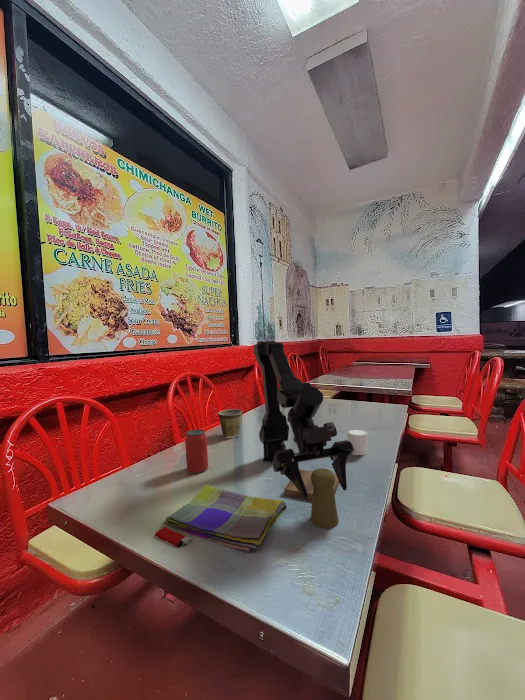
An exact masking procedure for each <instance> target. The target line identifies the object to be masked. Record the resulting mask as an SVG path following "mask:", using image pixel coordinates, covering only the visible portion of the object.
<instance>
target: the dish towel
mask: <svg viewBox="0 0 525 700" xmlns="http://www.w3.org/2000/svg"><path fill="white" fill-rule="evenodd" d="M287 506H288V505H287V503H286V502H284V500H281V499H272V498H263V497H262V498H261V497H256V496H250V495H247V494H245V495H244V494H241V493H237V492H234V491H230V490H229V491H228V490H224V489H221V488H217V487H215V486H212V485H209V484H205V485H204V486H203V487H202V489H201V490H200V491H199V492H198V493H197V494H196V495H195V497H193V498H192V499H191V500H190V501H189V502H187V504H185V505H183V506H182V507H180V508H179V509H178V510H176V511H174V512H173V513H171V515H169V516H167V517H165V518H164V521H163V522H162V524H163V523H165V525H167V524H168V525H167V526H169V525H170V527H171V526H172V527H171V528H173V527H174V528H173V529H176V530H178V531H181V532H185V533H188V534H190V535H192V536H195V537H197V538H200V539H202V540H203V539H204V540H206V541H208V542H211V543H214V544H218V545H221V546H225V547H227V548H230V549H233V550H238V551H244V552H247V553H250V552H251V551H252V550H255V549H257V547H259V546H260V545H261V544H262V543H263V542H262V541H263V540H264V538H265V536H266V534H267V533H268V532H269V531H270V529H271V528H272V527H273V525H274V524H275V523H276V522H277V520H278V519H279V518H280V517H281V516H282V515H283V514H284V512H285V511H286V510H287Z"/></svg>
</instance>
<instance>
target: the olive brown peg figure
mask: <svg viewBox="0 0 525 700" xmlns="http://www.w3.org/2000/svg"><path fill="white" fill-rule="evenodd" d="M312 471H313V472H312V474H311V482H312V485H313V486H314V488H313V499H312V500H311V512H310V522H311V523H312V525H314V526H315V527H317V528H319V529H328V530H329V529H333V528H335V527H337V526H338V524H339V515H338V508H337V503H336V497H335V495H334V491H333V486H334V484H335V476H334V475H335V474H334V472H333V471H332V470H330V469H328V468H324V467H323V468H320V467H319V468H316V469H314V470H312Z"/></svg>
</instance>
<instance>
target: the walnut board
mask: <svg viewBox="0 0 525 700" xmlns="http://www.w3.org/2000/svg"><path fill="white" fill-rule="evenodd" d="M299 471H300V474H301V477H302V480H303V482H304V485H305V488H306V491H307V495H308V497H307V498H304V497H303V495H302V494H301V493H300V491H299V490H298V489H297V488H296V486H295V485H294V484H293V483H292V482H291V481H290V480H289V481H288V483H287V484H286V486H285V487H284V488H283V491H284V495H286V496H291V497H295V498H296V497H297V498H302V499H306V500H311V501H312V499H313V488H314V486H313V485H312V482H311V474H312V472H313V471H314V470H308V469H307V470H306V469H300V468H299ZM334 476H335V484H334V486H333V491H334V496H336V492H337V490H338V487H339V485H340V483H339V480H338V478H337V476H336V474H334Z"/></svg>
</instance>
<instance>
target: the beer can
mask: <svg viewBox="0 0 525 700" xmlns="http://www.w3.org/2000/svg"><path fill="white" fill-rule="evenodd" d="M185 435H186V436H185V439H184V440H185V442H184V443H185V444H184V445H185V456H186V457H185V460H186V461H185V462H186V470H187V472H189V473H190V472H191V473H190V474H199V473H200V472H201V473H203V472H205V471H206V470H207V469H208V468H209V454H208V438H207V435H206V433H205V430H204V429H202V428H201V429H200V428H199V429H191V430H188V431H187V432H186V434H185Z"/></svg>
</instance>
